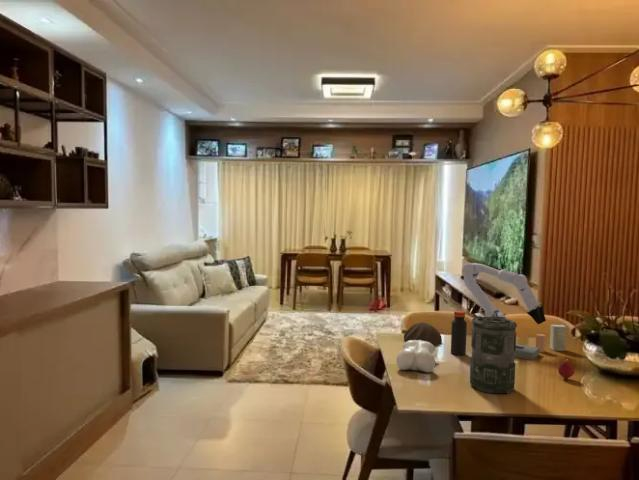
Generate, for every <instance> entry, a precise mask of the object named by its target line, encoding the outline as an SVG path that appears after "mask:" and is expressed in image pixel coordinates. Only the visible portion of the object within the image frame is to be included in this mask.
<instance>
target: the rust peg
mask: <svg viewBox="0 0 639 480" xmlns="http://www.w3.org/2000/svg"><path fill="white" fill-rule="evenodd" d="M535 335H536V337H535V347H537V348H539V353H544V352H545V350H546V349H545V347H546V334H541V333H537V334H535Z"/></svg>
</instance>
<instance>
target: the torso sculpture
mask: <svg viewBox="0 0 639 480" xmlns="http://www.w3.org/2000/svg"><path fill="white" fill-rule="evenodd" d="M402 344H403V345H402V348H403V349H401V350H399V352H398V353H397V355H396V358H395V359H396V360H395V362H396V365H397V368H398V369H400V370H401V371H407V370H412V371H421V372H424V373H431V372H432V371H433V370H434V368H435V366H436V359H435V356H434V352H435V351H436V346H434V345H432V344H431V343H429V342H427V341H422V340H409V341H407V342H403V343H402Z"/></svg>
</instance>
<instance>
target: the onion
mask: <svg viewBox="0 0 639 480" xmlns="http://www.w3.org/2000/svg"><path fill="white" fill-rule="evenodd" d="M569 361H570V360H569V359H565V360H564V361H562V362H561V363H560V364H559V365H558V367H557V372H558V374H559V375H560V376H561V377H562V378H563V379H565V380H569V378H571V377H572V376H574V374H575V367H574V366H573V364H572V363H570V362H569Z"/></svg>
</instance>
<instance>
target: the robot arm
mask: <svg viewBox="0 0 639 480" xmlns="http://www.w3.org/2000/svg"><path fill="white" fill-rule="evenodd" d="M480 273H485V274H488V275H492V276H495V277H497V279H499V281H503V282H506V283H508V284H510V285H511V284H512V286H514V287H516V289H517V290H518V293H519V294H520V297H521V299H522V301H523V302H524V305H525V306H526V309H527V310H528V311H527V312H526V314H527V315H529V317H531V318H532V320H534V322H535V323H536V324H537V325H541V324H543V323H544V322H546V321H547V319H546V315H545V312H544V306H543V305H542V306H541V304H542V302H541V301H540V302H538V300H537V298H536V296H535V294H534V292H533V290H532V288H531V287H530V285H529V283H528V279H527V276H526V275H524V274H523V273H518V272H513V271H509V269H508V268H505V269H500V270H499V269H497V268H494V267H490V266H489V265H487V264H483V263H477V262H472V263H471V262H470V263H465V264H463V266H462V270H461V274H462V275H463V280H464V285H465V286H466V287H467V288H468V290H469V291H470V292H471V294H472V295H473V297H474V298H475V300H476V301H477V303H478V304H479V305H480V307H481V308H482V309H483V311H484V315H485V316H484V317H491V315H492V314H494V313H496V312H497V313H498V317H504V318H506V314H505V313H503V312H502V311H500V310H499V308H497V307H496V306H494V304H493V303H492V301H490V299H489V297H488V296H487V295H486V294H485V292H484V291H483V290H482V288H481V286H480V285H479V284H478V283H477V277H478V275H479V274H480ZM494 316H496V315H494Z"/></svg>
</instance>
